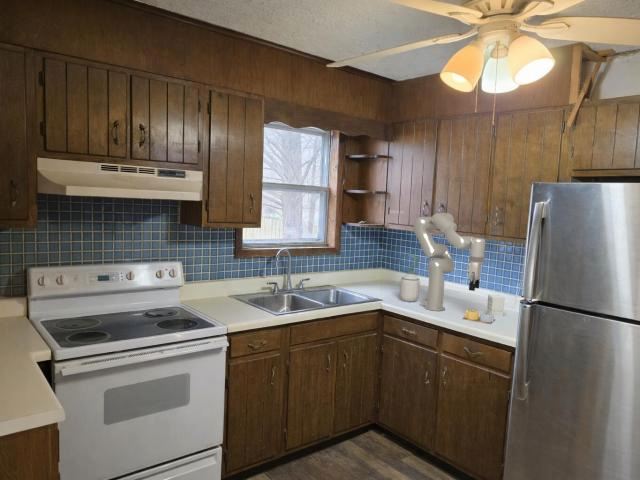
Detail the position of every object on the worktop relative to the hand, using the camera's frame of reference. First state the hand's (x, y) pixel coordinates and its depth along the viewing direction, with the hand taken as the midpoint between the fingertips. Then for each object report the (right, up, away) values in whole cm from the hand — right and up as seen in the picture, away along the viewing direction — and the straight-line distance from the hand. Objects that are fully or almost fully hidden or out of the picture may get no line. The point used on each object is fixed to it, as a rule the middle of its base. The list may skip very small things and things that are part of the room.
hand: (473, 289), depth 269 cm
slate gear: (+6, -18, -3) cm, 19 cm away
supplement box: (+16, -18, +12) cm, 27 cm away
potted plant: (-29, -13, +45) cm, 55 cm away
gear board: (+2, -18, -1) cm, 19 cm away
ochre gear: (-1, -17, +1) cm, 17 cm away
